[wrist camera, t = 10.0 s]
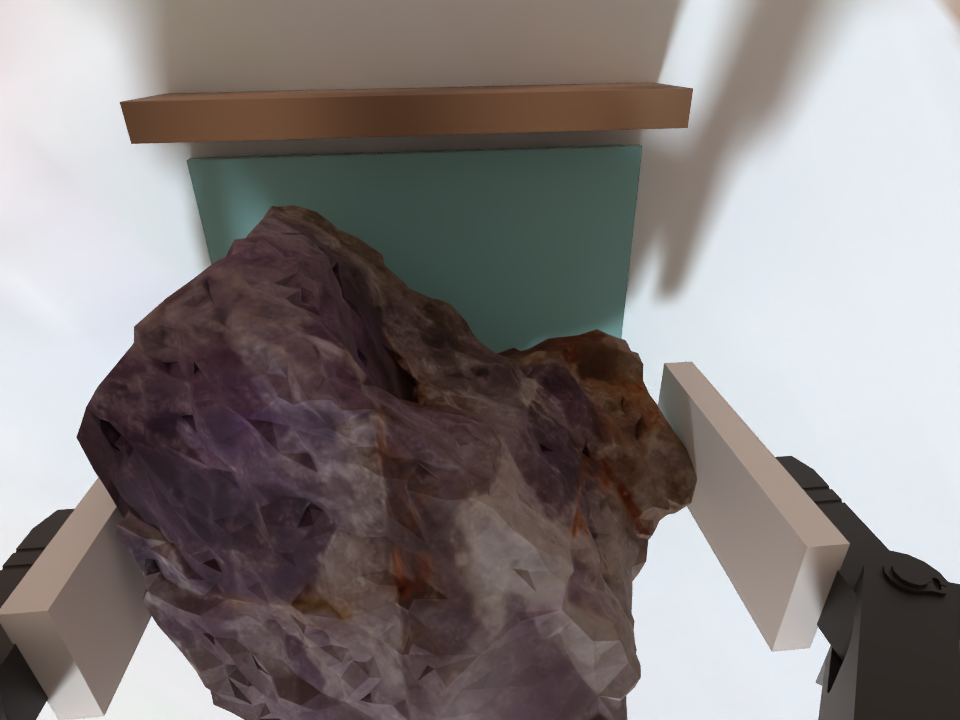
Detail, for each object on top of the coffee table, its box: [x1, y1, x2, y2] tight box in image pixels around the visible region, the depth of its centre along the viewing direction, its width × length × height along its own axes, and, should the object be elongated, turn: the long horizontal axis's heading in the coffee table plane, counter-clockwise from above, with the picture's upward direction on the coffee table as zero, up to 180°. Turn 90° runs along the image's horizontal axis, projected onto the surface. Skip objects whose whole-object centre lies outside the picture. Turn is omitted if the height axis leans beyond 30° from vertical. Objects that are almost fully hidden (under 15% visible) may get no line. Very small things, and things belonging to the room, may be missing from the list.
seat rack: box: [120, 83, 693, 144], centre depth 21 cm, size 12×31×2 cm, turn 1°
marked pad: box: [187, 145, 642, 353], centre depth 18 cm, size 12×13×1 cm
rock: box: [77, 205, 697, 720], centre depth 13 cm, size 12×9×10 cm
